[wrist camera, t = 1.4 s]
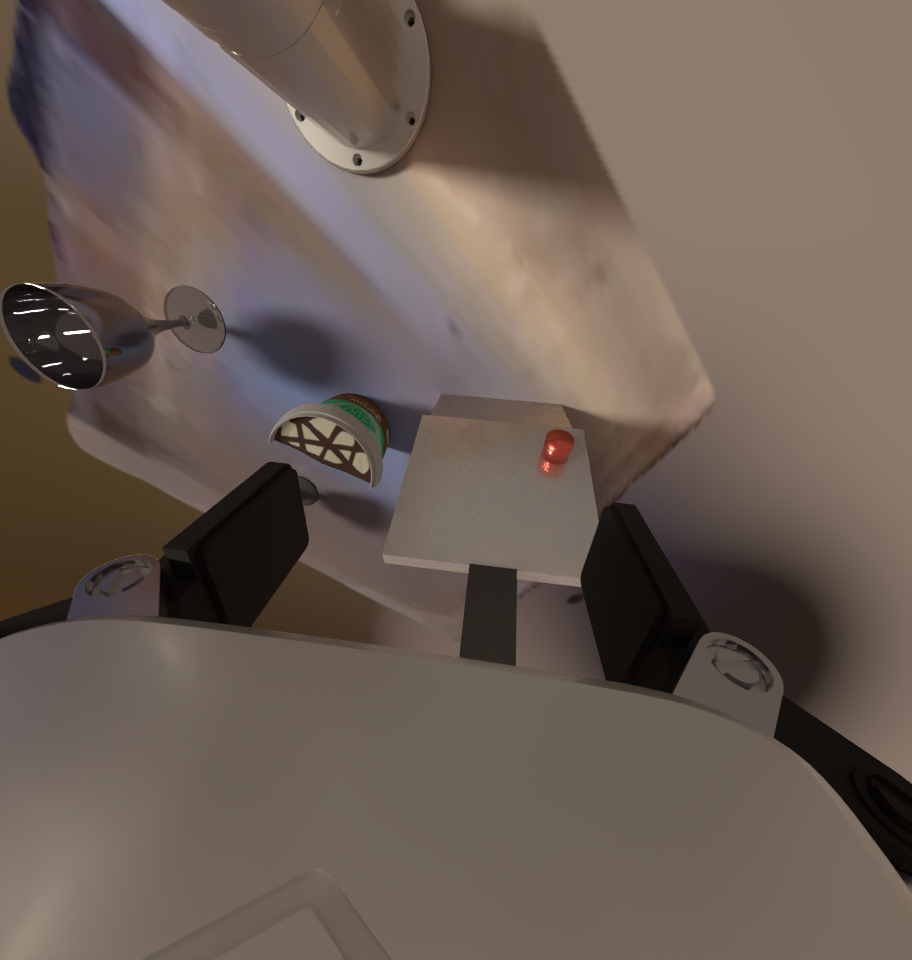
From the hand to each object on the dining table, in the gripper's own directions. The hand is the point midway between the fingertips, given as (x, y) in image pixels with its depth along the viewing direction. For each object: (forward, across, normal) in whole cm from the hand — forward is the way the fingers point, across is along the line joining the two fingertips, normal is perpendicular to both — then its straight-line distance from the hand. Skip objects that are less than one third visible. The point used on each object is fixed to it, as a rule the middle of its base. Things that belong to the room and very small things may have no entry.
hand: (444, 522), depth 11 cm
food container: (+32, +14, +9) cm, 37 cm away
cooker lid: (+12, -3, +9) cm, 16 cm away
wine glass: (+32, +34, 0) cm, 47 cm away
